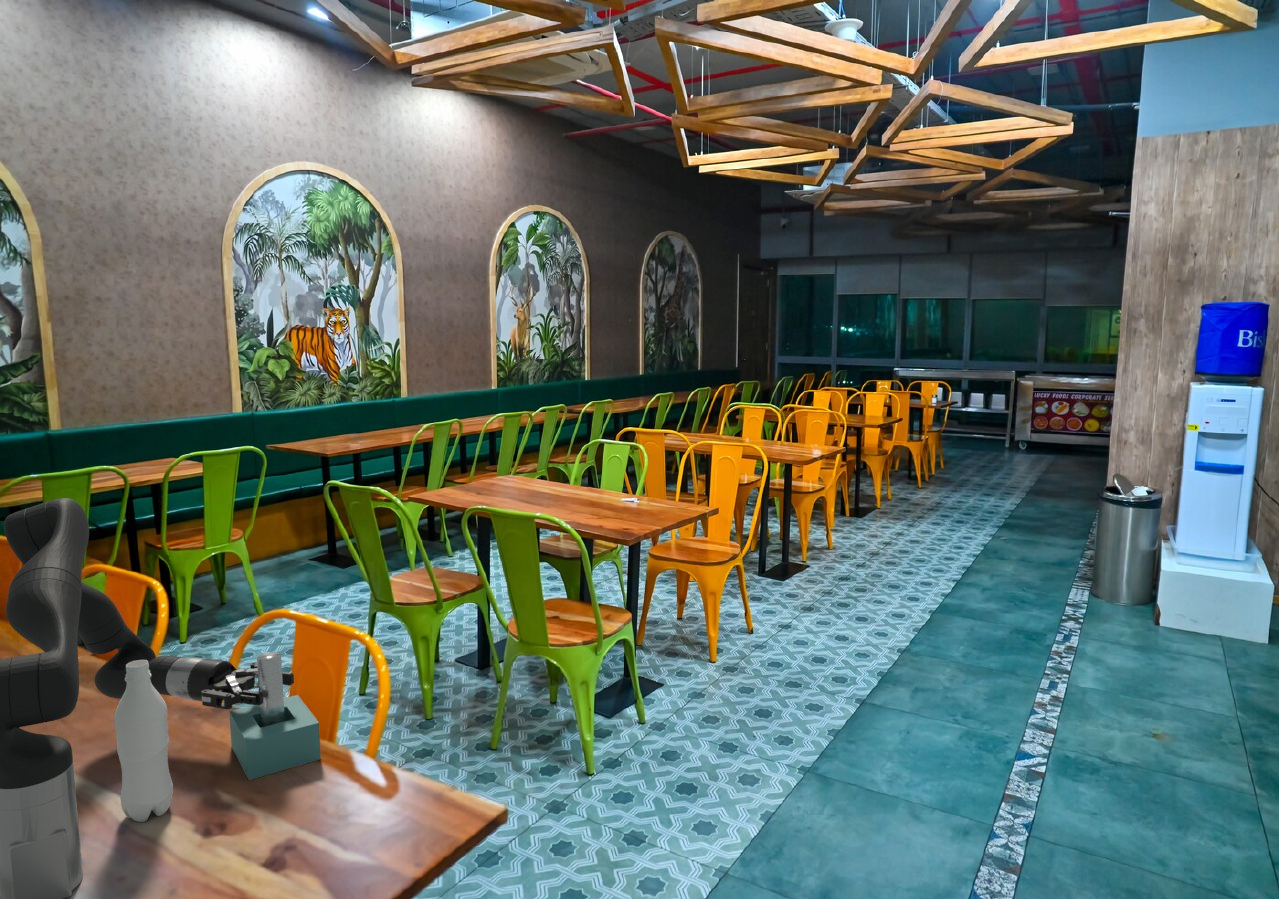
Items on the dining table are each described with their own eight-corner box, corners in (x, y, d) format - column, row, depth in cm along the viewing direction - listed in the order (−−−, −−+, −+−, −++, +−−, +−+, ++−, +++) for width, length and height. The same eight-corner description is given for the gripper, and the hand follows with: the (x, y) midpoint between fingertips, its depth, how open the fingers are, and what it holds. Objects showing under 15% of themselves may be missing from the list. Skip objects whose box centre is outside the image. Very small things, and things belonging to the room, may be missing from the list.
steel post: (289, 751, 150) (283, 657, 147) (265, 758, 147) (259, 662, 145) (283, 742, 153) (277, 650, 150) (260, 749, 151) (254, 655, 148)
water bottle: (112, 817, 130) (99, 667, 126) (156, 795, 136) (145, 651, 133) (139, 830, 127) (127, 676, 123) (184, 807, 133) (173, 660, 129)
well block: (320, 759, 148) (319, 722, 147) (248, 780, 141) (246, 741, 140) (299, 729, 159) (297, 694, 158) (231, 747, 152) (229, 711, 151)
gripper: (169, 675, 145) (249, 685, 141) (227, 645, 158) (301, 654, 155) (172, 715, 146) (252, 726, 142) (229, 682, 159) (303, 692, 156)
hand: (277, 688), depth 148 cm, fingers open, 8 cm apart
